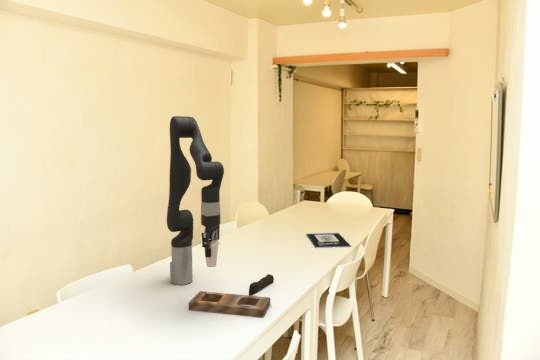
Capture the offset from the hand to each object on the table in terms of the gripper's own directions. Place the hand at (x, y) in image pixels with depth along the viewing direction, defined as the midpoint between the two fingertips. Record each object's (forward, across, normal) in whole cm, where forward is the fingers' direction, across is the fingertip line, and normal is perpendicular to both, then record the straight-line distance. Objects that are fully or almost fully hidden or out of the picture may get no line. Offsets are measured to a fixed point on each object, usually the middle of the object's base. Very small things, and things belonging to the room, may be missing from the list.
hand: (211, 254), depth 175 cm
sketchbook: (+22, -108, +36) cm, 116 cm away
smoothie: (+5, 0, 0) cm, 5 cm away
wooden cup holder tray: (+21, 0, +8) cm, 22 cm away
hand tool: (+22, -22, +15) cm, 34 cm away
